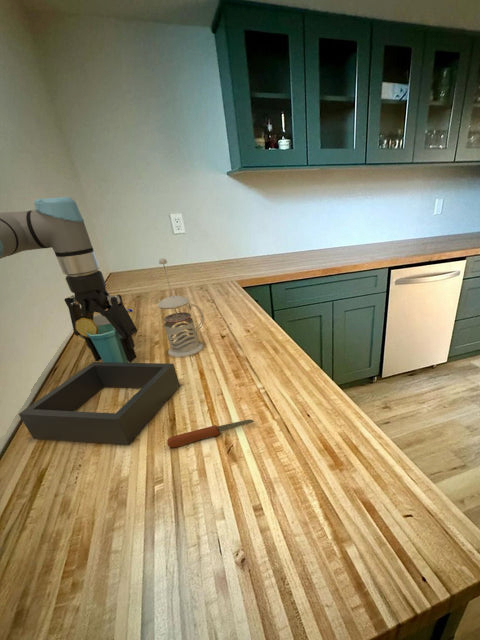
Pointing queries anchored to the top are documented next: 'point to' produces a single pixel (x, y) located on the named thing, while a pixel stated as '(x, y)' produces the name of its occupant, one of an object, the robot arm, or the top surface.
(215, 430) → the kitchen knife
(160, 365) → the frame
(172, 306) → the french press
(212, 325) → the top surface
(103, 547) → the top surface
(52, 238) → the robot arm
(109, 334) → the cup
